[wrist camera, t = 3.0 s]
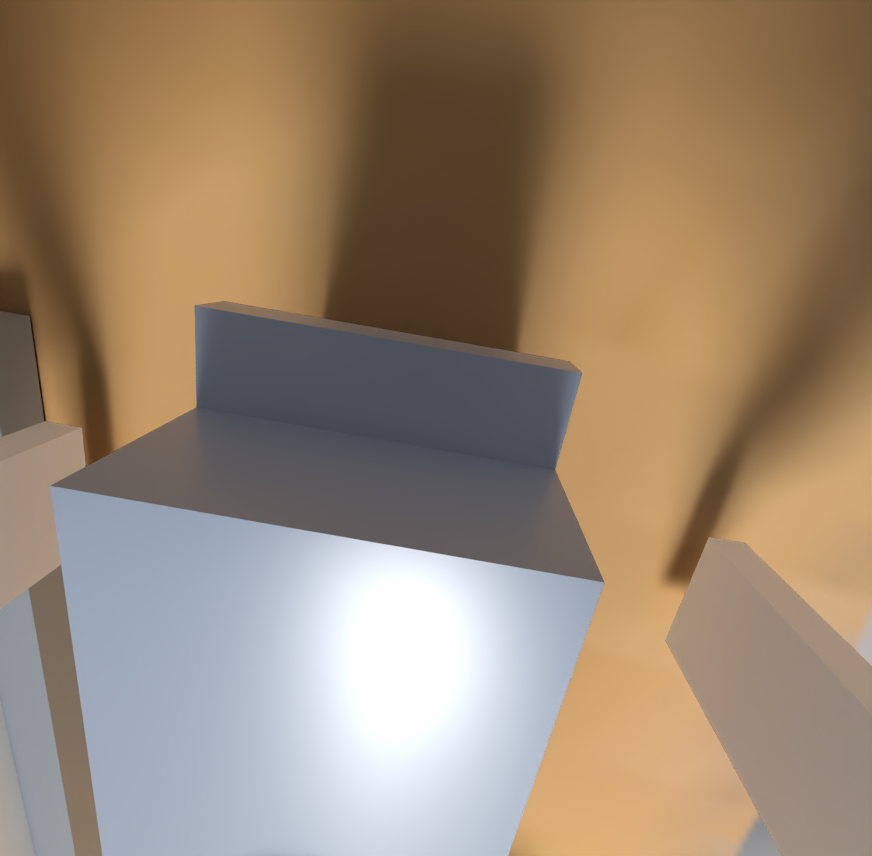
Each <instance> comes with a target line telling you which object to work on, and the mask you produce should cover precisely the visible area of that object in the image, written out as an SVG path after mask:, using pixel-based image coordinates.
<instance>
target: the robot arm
mask: <svg viewBox="0 0 872 856" xmlns="http://www.w3.org/2000/svg"><path fill="white" fill-rule="evenodd" d="M84 467H86V464H85V454H84V444H83V434H82V428H81V427H76V426H70V425H64V424H58V423H53V422H47V421H44V422H42V423H39V424H36V425H33V426H31V427H28V428H25V429H22V430H20V431H17V432H14V433H11V434H9V435H6V436H3V437H0V609H1V608H3V607H4V606H5V605H7V604H8V603H10V602H11V601H12V600H14V599H15V598H16V597H18V596H19V595H20V594H22V593H23V592H24V591H26V590H27V589H29V588H30V587H31V586H33V585H34V584H35V583H37V582H38V581H39V580H41V579H42V578H44V577H45V576H46V575H48V574H49V573H50V572H52V571H53V570H54V569H56V568H57V567H58V566H60V565H61V561H60V553H59V546H58V539H57V532H56V525H55V518H54V511H53V504H52V497H51V490H50V486H51V485H52V484H54V483H56V482H58V481H60V480H62V479H64V478H65V477H67V476H69V475H71V474H73V473H75V472H77V471H79V470H80V469H82V468H84ZM665 641H666V643H667V645H668V647H669V648H670V650H671V652H672V654H673V656H674V658H675V660H676V661H677V663H678V665H679V667H680V669H681V671H682V673H683V674H684V676H685V678H686V680H687V682H688V684H689V685H690V687H691V689H692V691H693V693H694V695H695V697H696V698H697V700H698V702H699V704H700V706H701V708H702V709H703V711H704V713H705V715H706V717H707V719H708V721H709V722H710V724H711V726H712V728H713V730H714V732H715V733H716V735H717V737H718V739H719V741H720V743H721V745H722V746H723V748H724V750H725V752H726V754H727V756H728V757H729V759H730V761H731V763H732V765H733V767H734V769H735V770H736V772H737V774H738V776H739V778H740V780H741V781H742V783H743V785H744V787H745V789H746V791H747V793H748V794H749V796H750V798H751V800H752V802H753V804H754V805H755V807H756V809H757V811H758V813H759V815H760V817H761V818H762V820H763V822H764V824H765V826H766V828H767V829H768V831H769V833H770V835H771V837H772V839H773V841H774V842H775V844H776V846H777V848H778V850H779V852H780V853H781V855H782V856H872V666H871V665H870V664H869V663H868V662H867V661H866V660H865V659H864V658H863V657H862V656H861V655H860V654H859V653H858V652H857V651H856V650H855V649H854V648H853V647H852V646H851V645H850V644H849V643H848V642H847V641H845V640H844V639H843V638H842V637H841V636H840V635H839V634H838V633H837V632H836V631H835V630H834V629H833V628H832V627H831V626H830V625H829V624H828V623H827V622H826V621H825V620H824V619H823V618H822V617H821V616H820V615H819V614H818V613H817V612H816V611H815V610H814V609H813V608H812V607H811V606H810V605H809V604H808V603H806V602H805V601H804V600H803V599H802V598H801V597H800V596H799V595H798V594H797V593H796V592H795V591H794V590H793V589H792V588H791V587H790V586H789V585H788V584H787V583H786V582H785V581H784V580H783V579H782V578H781V577H780V576H779V575H778V574H777V573H776V572H775V571H774V570H773V569H772V568H771V567H770V566H768V565H767V564H766V563H765V562H764V561H763V560H762V559H761V558H760V557H759V556H758V555H757V554H756V553H755V552H754V551H753V550H752V549H751V548H750V547H749V546H748V545H747V544H746V543H742V542H736V541H730V540H725V539H719V538H713V537H709V538H708V540H707V543H706V545H705V547H704V550H703V552H702V555H701V557H700V559H699V562H698V564H697V566H696V569H695V571H694V573H693V576H692V578H691V581H690V583H689V585H688V588H687V590H686V592H685V595H684V597H683V600H682V602H681V604H680V607H679V609H678V611H677V614H676V616H675V618H674V621H673V623H672V626H671V628H670V630H669V633H668V635H667V637H666V640H665Z"/></svg>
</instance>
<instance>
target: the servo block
mask: <svg viewBox="0 0 872 856" xmlns="http://www.w3.org/2000/svg"><path fill="white" fill-rule="evenodd" d="M195 345H196V402H197V407H196V408H194V409H193V410H191V411H189V412H187V413H185V414H183V415H181V416H179V417H178V418H176V419H174V420H172V421H170V422H168V423H166V424H165V425H163V426H161V427H159V428H157V429H155V430H153V431H151V432H150V433H148V434H146V435H144V436H142V437H140V438H138V439H136V440H135V441H133V442H131V443H129V444H127V445H125V446H123V447H122V448H120V449H118V450H116V451H114V452H112V453H110V454H108V455H107V456H105V457H103V458H101V459H99V460H97V461H95V462H94V463H92V464H90V465H88V466H86V467H84V468H82V469H80V470H79V471H77V472H75V473H73V474H71V475H69V476H67V477H65V478H64V479H62V480H60V481H58V482H56V483H54V484H52V485H51V486H50V490H51V497H52V504H53V511H54V518H55V525H56V532H57V539H58V546H59V553H60V561H61V568H62V575H63V582H64V589H65V596H66V603H67V610H68V617H69V624H70V631H71V638H72V645H73V652H74V659H75V666H76V673H77V680H78V687H79V695H80V702H81V709H82V716H83V723H84V730H85V737H86V744H87V751H88V758H89V765H90V772H91V779H92V786H93V793H94V800H95V807H96V814H97V822H98V829H99V836H100V843H101V850H102V856H508V854H509V852H510V849H511V846H512V843H513V840H514V837H515V835H516V832H517V829H518V826H519V823H520V820H521V818H522V815H523V812H524V809H525V806H526V803H527V801H528V798H529V795H530V792H531V789H532V786H533V784H534V781H535V778H536V775H537V772H538V769H539V767H540V764H541V761H542V758H543V755H544V752H545V750H546V747H547V744H548V741H549V738H550V735H551V733H552V730H553V727H554V724H555V721H556V718H557V716H558V713H559V710H560V707H561V704H562V701H563V699H564V696H565V693H566V690H567V687H568V684H569V682H570V679H571V676H572V673H573V670H574V667H575V665H576V662H577V659H578V656H579V653H580V650H581V648H582V645H583V642H584V639H585V636H586V633H587V631H588V628H589V625H590V622H591V619H592V616H593V613H594V611H595V608H596V605H597V602H598V599H599V596H600V594H601V591H602V588H603V585H604V580H603V578H602V576H601V574H600V571H599V569H598V567H597V564H596V562H595V560H594V558H593V555H592V553H591V551H590V549H589V546H588V544H587V542H586V539H585V537H584V535H583V533H582V530H581V528H580V526H579V523H578V521H577V519H576V517H575V514H574V512H573V510H572V507H571V505H570V503H569V501H568V498H567V496H566V494H565V491H564V489H563V487H562V485H561V482H560V480H559V478H558V475H557V473H556V471H555V468H556V465H557V461H558V457H559V454H560V450H561V447H562V443H563V440H564V436H565V432H566V429H567V425H568V422H569V418H570V414H571V411H572V407H573V404H574V400H575V397H576V393H577V389H578V386H579V382H580V379H581V375H582V373H581V372H580V371H579V370H578V369H577V368H576V367H575V366H574V365H573V364H572V363H571V362H570V361H565V360H559V359H553V358H548V357H542V356H536V355H530V354H525V353H519V352H513V351H507V350H502V349H496V348H490V347H484V346H479V345H473V344H467V343H461V342H456V341H450V340H444V339H439V338H433V337H427V336H421V335H416V334H410V333H404V332H398V331H393V330H387V329H381V328H375V327H370V326H364V325H358V324H352V323H347V322H341V321H335V320H329V319H324V318H318V317H312V316H307V315H301V314H295V313H289V312H284V311H278V310H272V309H266V308H261V307H255V306H249V305H243V304H238V303H232V302H226V301H221V302H215V303H208V304H202V305H195Z"/></svg>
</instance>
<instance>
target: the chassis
mask: <svg viewBox="0 0 872 856" xmlns="http://www.w3.org/2000/svg"><path fill="white" fill-rule="evenodd" d="M42 422H44V416H43V408H42V401H41V394H40V387H39V380H38V373H37V365H36V358H35V351H34V344H33V337H32V330H31V322H30V316H27V315H21V314H16V313H10V312H4V311H0V437H3V436H6V435H9V434H11V433H14V432H17V431H20V430H22V429H25V428H28V427H31V426H33V425H36V424H39V423H42ZM0 856H102V850H101V843H100V836H99V829H98V822H97V814H96V807H95V800H94V793H93V786H92V779H91V772H90V765H89V758H88V751H87V744H86V737H85V730H84V723H83V716H82V709H81V702H80V695H79V687H78V680H77V673H76V666H75V659H74V652H73V645H72V638H71V631H70V624H69V617H68V610H67V603H66V596H65V589H64V582H63V575H62V568H61V565H60V566H58V567H57V568H56V569H54V570H53V571H52V572H50V573H49V574H48V575H46V576H45V577H44V578H42V579H41V580H39V581H38V582H37V583H35V584H34V585H33V586H31V587H30V588H29V589H27V590H26V591H24V592H23V593H22V594H20V595H19V596H18V597H16V598H15V599H14V600H12V601H11V602H10V603H8V604H7V605H5V606H4V607H3V608H1V609H0Z"/></svg>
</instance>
